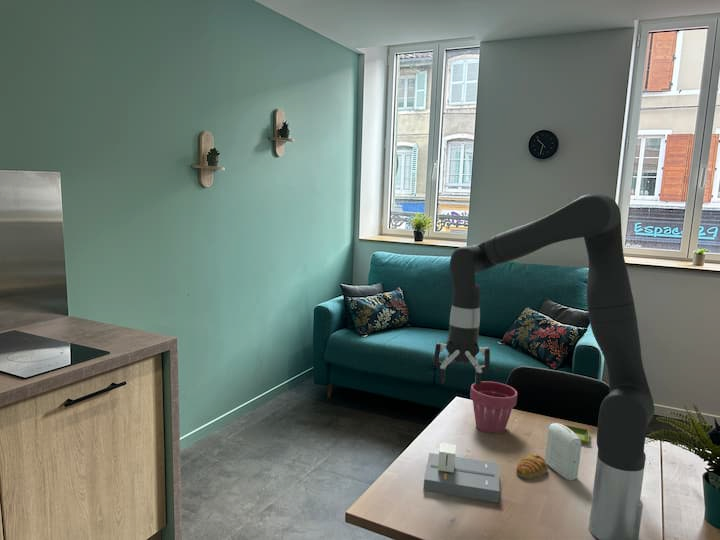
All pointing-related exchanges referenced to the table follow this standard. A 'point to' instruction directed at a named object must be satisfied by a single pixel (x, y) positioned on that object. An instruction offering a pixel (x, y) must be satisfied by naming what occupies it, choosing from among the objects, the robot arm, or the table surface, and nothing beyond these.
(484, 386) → the plant pot
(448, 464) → the fader tab
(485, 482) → the console
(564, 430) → the photo printer
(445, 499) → the table surface
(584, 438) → the saucer
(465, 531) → the table surface
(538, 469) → the pastry
